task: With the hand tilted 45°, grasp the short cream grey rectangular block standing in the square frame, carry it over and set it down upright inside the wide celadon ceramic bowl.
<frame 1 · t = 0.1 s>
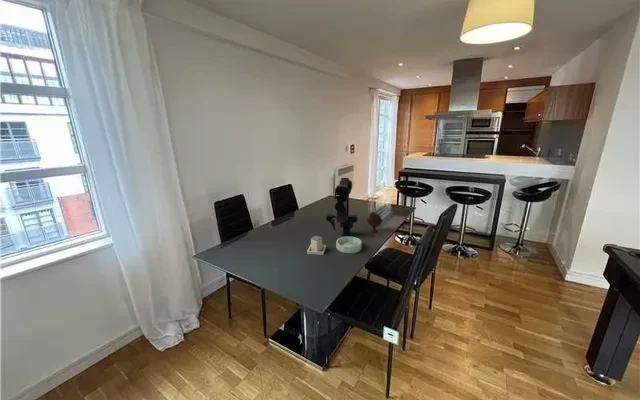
hand: (342, 230, 161), 15 cm above the table, tool pointing down, fingers open, 9 cm apart
cream grey rectangular block: (316, 244, 167), in the square frame
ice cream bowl: (374, 231, 196), on the table
square frame: (316, 250, 169), on the table
serving bowl: (348, 247, 171), on the table
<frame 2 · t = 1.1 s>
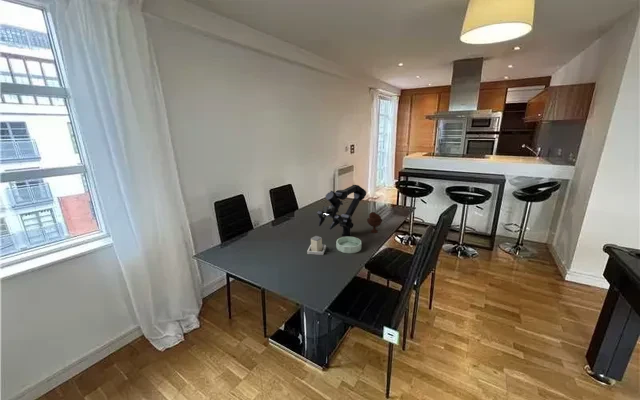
hand: (324, 227, 171), 13 cm above the table, tool tilted 45°, fingers open, 9 cm apart
nothing on the table moved.
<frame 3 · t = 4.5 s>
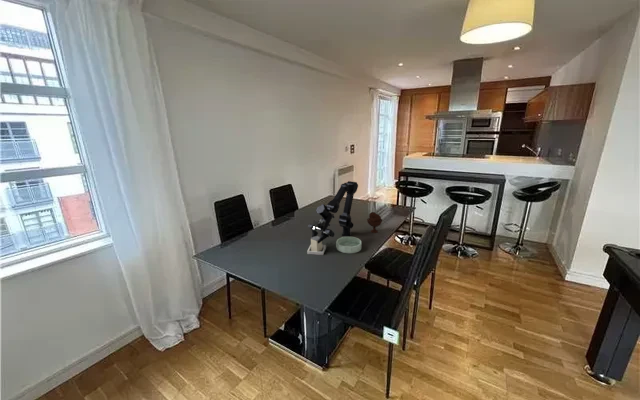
hand: (314, 242, 166), 7 cm above the table, tool tilted 45°, fingers closed on cream grey rectangular block, 5 cm apart
cream grey rectangular block: (316, 244, 167), in the square frame, touching gripper
everything else where it was.
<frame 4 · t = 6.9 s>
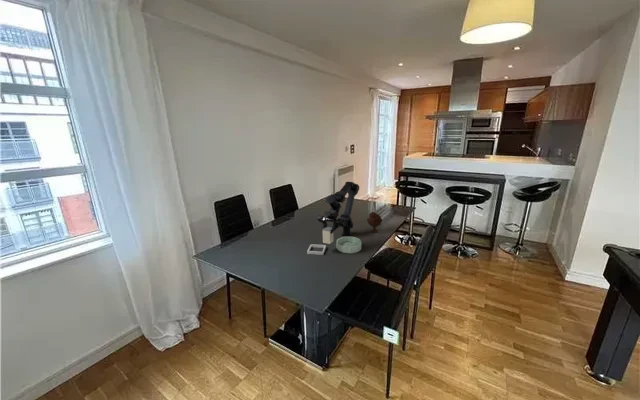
hand: (327, 232, 163), 13 cm above the table, tool tilted 45°, fingers closed on cream grey rectangular block, 5 cm apart
cream grey rectangular block: (328, 235, 165), point 11 cm above the table, touching gripper
everything else where it was.
when the fingers open (9 cm above the table, at t = 9.7 s): cream grey rectangular block drops 1 cm, resting on serving bowl.
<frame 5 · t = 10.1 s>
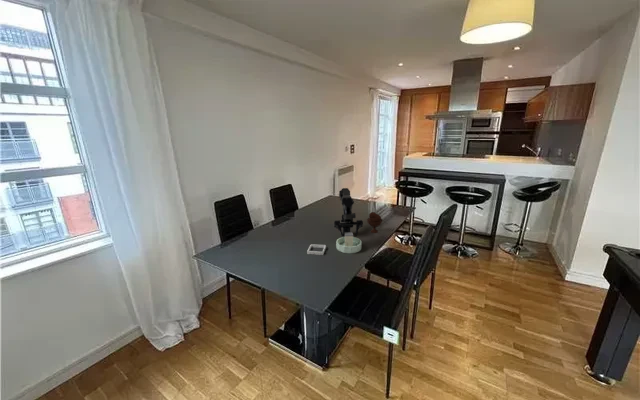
hand: (349, 236, 168), 9 cm above the table, tool tilted 45°, fingers open, 9 cm apart
cream grey rectangular block: (348, 240, 170), in the serving bowl, point 5 cm above the table
everything else where it was.
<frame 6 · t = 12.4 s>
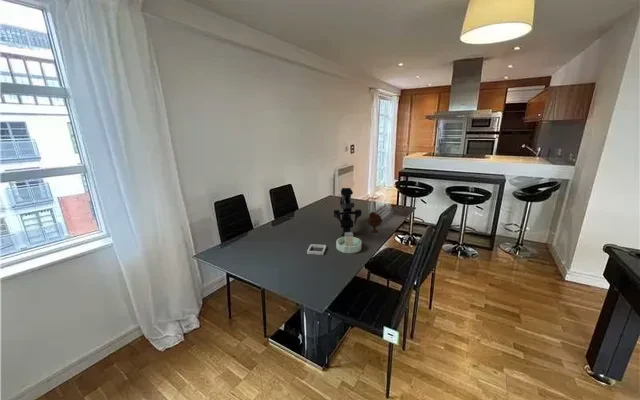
hand: (348, 224, 174), 14 cm above the table, tool tilted 45°, fingers open, 9 cm apart
nothing on the table moved.
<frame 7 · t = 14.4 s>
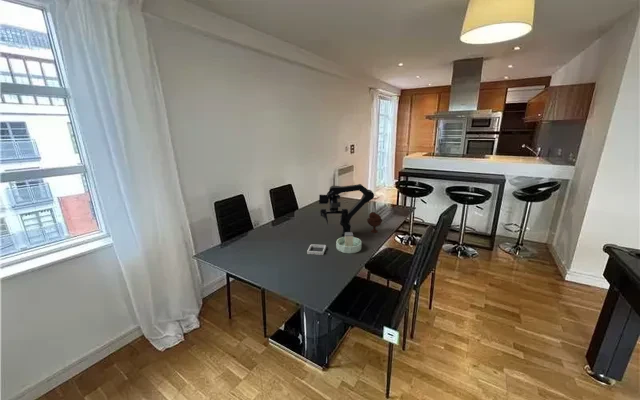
hand: (334, 223, 176), 14 cm above the table, tool tilted 45°, fingers open, 9 cm apart
nothing on the table moved.
at the end: cream grey rectangular block inside the target area on the serving bowl (0.0 cm from its centre), point 5.3 cm above the serving bowl's base; cream grey rectangular block tilted 0°; the gripper is holding nothing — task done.
